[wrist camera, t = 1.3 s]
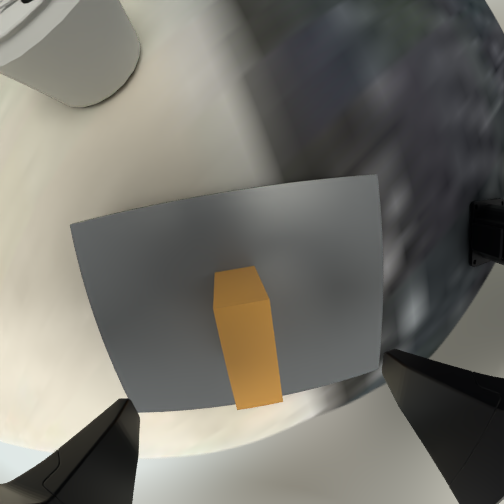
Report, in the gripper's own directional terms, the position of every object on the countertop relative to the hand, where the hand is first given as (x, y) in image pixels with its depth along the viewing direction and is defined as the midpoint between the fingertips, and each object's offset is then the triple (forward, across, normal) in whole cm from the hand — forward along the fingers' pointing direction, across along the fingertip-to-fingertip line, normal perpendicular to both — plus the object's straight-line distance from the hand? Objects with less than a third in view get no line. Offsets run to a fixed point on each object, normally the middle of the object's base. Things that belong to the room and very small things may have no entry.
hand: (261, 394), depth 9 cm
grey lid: (+8, 0, 0) cm, 8 cm away
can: (+12, +8, -18) cm, 23 cm away
